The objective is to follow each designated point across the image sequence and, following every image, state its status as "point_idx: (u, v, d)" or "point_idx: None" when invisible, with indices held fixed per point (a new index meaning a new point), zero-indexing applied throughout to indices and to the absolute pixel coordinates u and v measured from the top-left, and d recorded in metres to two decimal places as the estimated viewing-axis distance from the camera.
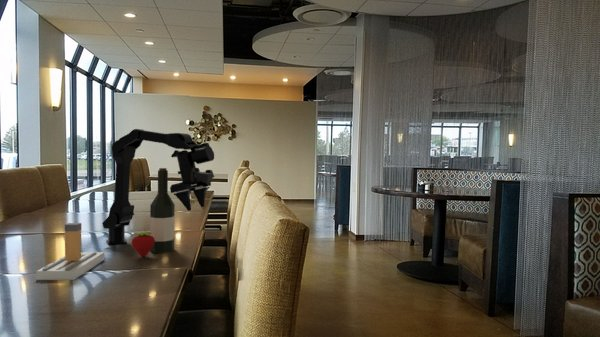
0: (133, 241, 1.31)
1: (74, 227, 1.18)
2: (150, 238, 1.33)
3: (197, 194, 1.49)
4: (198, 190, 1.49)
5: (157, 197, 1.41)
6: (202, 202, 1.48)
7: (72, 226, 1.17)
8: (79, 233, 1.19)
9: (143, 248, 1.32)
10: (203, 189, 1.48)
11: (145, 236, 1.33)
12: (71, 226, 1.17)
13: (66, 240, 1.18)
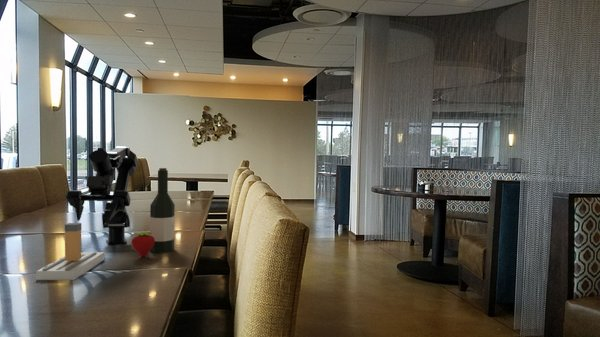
0: (133, 241, 1.31)
1: (74, 227, 1.18)
2: (150, 238, 1.33)
3: None
4: None
5: (157, 197, 1.41)
6: None
7: (72, 226, 1.17)
8: (79, 233, 1.19)
9: (143, 248, 1.32)
10: None
11: (145, 236, 1.33)
12: (71, 226, 1.17)
13: (66, 240, 1.18)
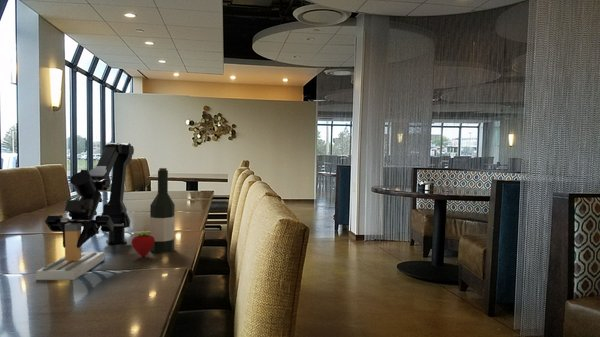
0: (133, 241, 1.31)
1: (74, 227, 1.18)
2: (150, 238, 1.33)
3: None
4: None
5: (157, 197, 1.41)
6: None
7: (72, 226, 1.17)
8: (79, 233, 1.19)
9: (143, 248, 1.32)
10: None
11: (145, 236, 1.33)
12: (71, 226, 1.17)
13: (66, 240, 1.18)
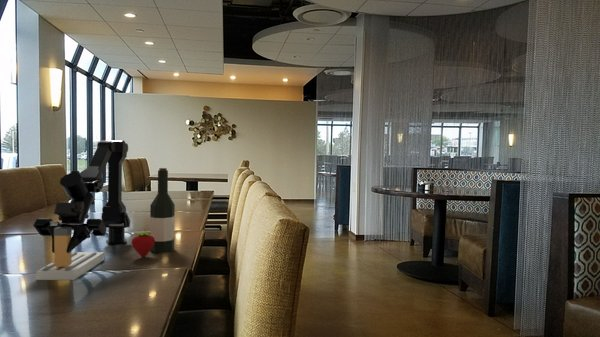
0: (133, 241, 1.31)
1: (64, 231, 1.12)
2: (150, 238, 1.33)
3: None
4: None
5: (157, 197, 1.41)
6: None
7: (62, 230, 1.12)
8: (69, 237, 1.13)
9: (143, 248, 1.32)
10: None
11: (145, 236, 1.33)
12: (61, 230, 1.12)
13: (55, 245, 1.12)
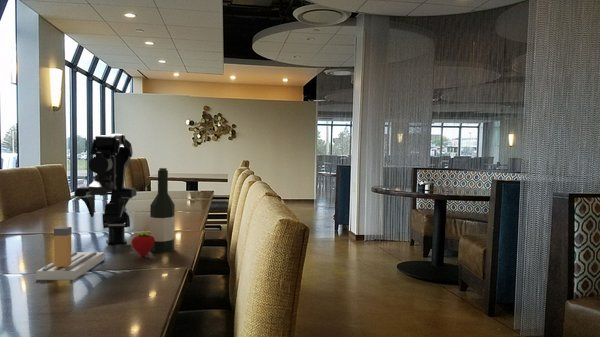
0: (133, 241, 1.31)
1: (64, 231, 1.12)
2: (150, 238, 1.33)
3: None
4: None
5: (157, 197, 1.41)
6: None
7: (61, 230, 1.12)
8: (69, 237, 1.13)
9: (143, 248, 1.32)
10: None
11: (145, 236, 1.33)
12: (60, 230, 1.11)
13: (55, 245, 1.12)
